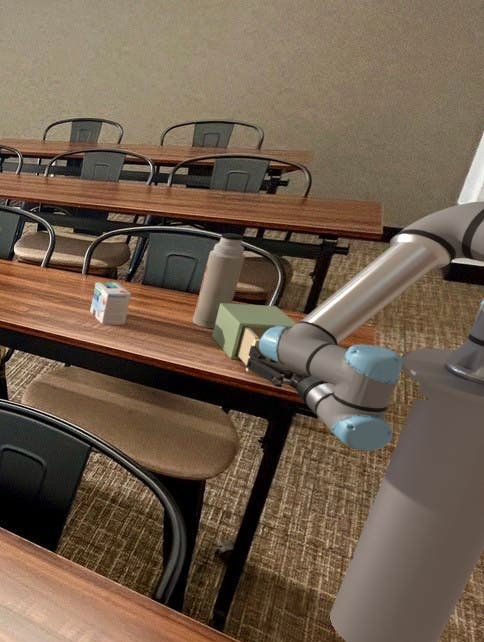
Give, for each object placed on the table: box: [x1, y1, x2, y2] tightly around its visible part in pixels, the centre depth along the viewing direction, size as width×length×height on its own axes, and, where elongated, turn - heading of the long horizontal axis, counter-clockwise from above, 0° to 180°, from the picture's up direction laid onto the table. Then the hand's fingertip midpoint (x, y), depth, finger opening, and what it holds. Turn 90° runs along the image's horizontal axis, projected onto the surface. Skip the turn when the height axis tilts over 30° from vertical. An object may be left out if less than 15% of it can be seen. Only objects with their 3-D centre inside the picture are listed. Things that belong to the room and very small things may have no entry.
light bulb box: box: [89, 281, 132, 326], centre depth 181 cm, size 11×7×11 cm, turn 169°
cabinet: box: [211, 303, 298, 361], centre depth 156 cm, size 15×13×11 cm
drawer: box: [236, 326, 304, 376], centre depth 146 cm, size 18×11×9 cm, turn 159°
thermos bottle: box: [192, 232, 246, 330], centre depth 169 cm, size 8×8×28 cm
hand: (282, 353), depth 141 cm, fingers closed on drawer, 11 cm apart
